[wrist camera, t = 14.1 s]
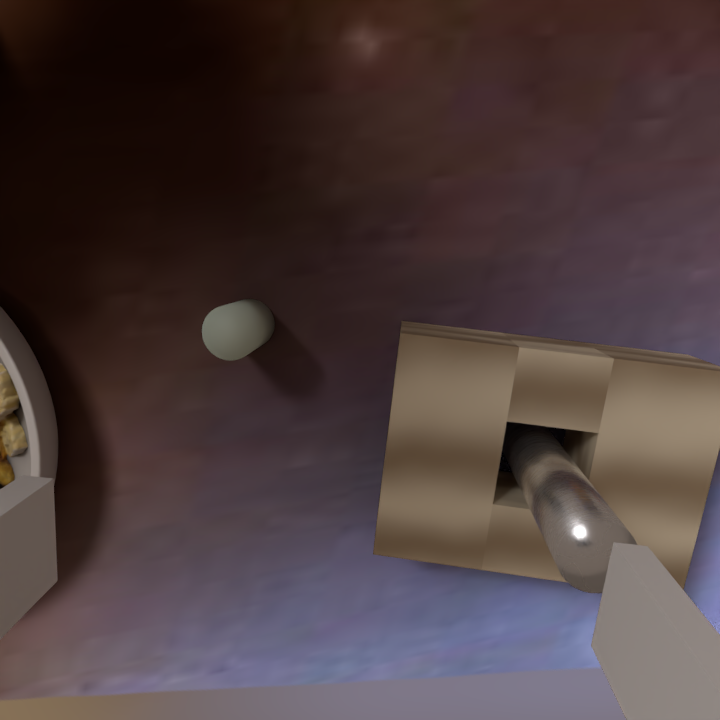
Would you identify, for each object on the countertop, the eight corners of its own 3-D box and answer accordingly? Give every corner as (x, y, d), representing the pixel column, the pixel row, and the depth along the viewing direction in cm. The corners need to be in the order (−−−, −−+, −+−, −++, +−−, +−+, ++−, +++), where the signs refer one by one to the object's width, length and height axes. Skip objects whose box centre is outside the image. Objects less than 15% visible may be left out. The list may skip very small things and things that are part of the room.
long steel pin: (503, 411, 40) (564, 514, 24) (552, 418, 40) (646, 526, 24) (495, 457, 41) (549, 586, 25) (544, 464, 41) (630, 598, 25)
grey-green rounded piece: (228, 296, 40) (203, 302, 35) (276, 302, 40) (258, 309, 35) (225, 344, 41) (200, 356, 36) (272, 350, 41) (254, 363, 36)
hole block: (401, 320, 39) (400, 333, 34) (687, 354, 38) (738, 373, 32) (377, 512, 42) (373, 554, 37) (642, 549, 41) (680, 598, 35)
